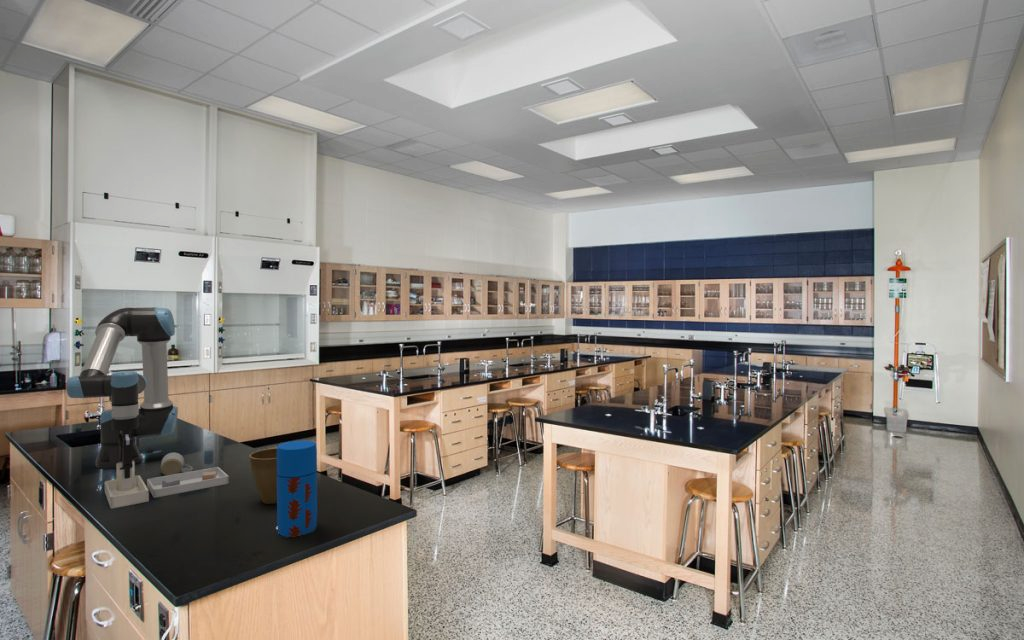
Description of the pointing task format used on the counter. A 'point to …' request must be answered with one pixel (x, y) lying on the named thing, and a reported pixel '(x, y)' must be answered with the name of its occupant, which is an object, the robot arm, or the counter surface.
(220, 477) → the tray
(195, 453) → the counter surface
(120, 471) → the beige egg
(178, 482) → the gray cube
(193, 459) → the counter surface
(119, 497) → the bin
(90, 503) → the counter surface
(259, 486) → the plant pot
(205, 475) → the orange cube
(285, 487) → the thermos
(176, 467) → the ceramic mug
